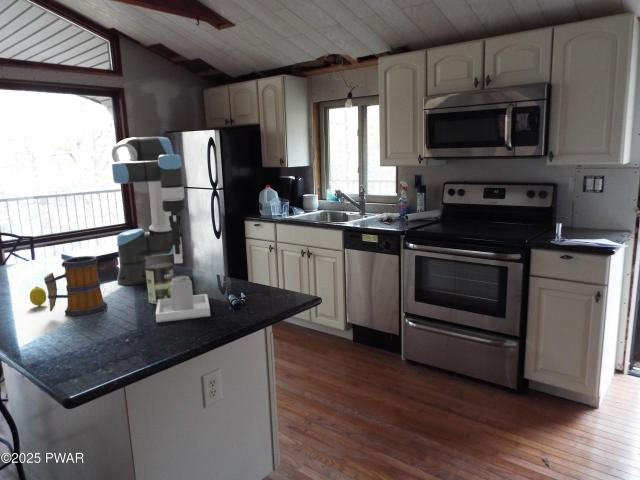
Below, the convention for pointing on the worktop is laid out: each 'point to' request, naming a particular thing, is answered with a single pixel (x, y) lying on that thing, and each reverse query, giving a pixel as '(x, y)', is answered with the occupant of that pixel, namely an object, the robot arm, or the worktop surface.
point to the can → (181, 293)
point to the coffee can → (159, 281)
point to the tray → (168, 314)
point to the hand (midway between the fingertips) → (178, 258)
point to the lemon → (37, 296)
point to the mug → (78, 288)
